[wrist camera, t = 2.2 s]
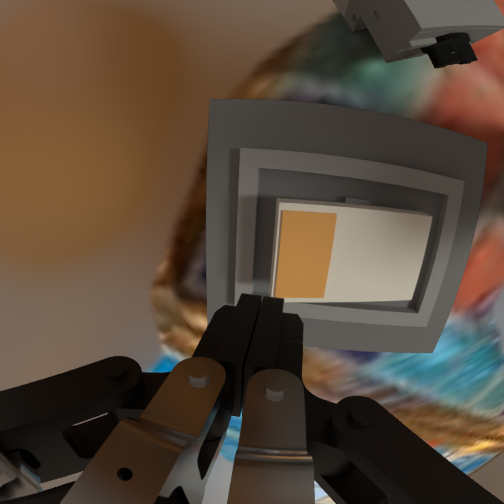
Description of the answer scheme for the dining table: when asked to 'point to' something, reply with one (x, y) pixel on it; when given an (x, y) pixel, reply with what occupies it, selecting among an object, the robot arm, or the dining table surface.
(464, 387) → the dining table surface
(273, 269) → the breaker rocker
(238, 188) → the box
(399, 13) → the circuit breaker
